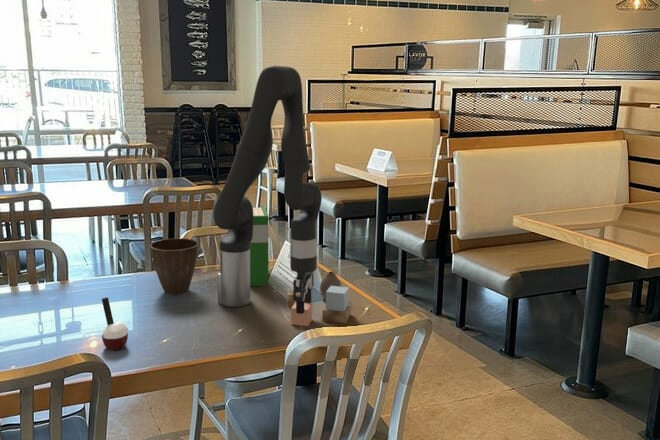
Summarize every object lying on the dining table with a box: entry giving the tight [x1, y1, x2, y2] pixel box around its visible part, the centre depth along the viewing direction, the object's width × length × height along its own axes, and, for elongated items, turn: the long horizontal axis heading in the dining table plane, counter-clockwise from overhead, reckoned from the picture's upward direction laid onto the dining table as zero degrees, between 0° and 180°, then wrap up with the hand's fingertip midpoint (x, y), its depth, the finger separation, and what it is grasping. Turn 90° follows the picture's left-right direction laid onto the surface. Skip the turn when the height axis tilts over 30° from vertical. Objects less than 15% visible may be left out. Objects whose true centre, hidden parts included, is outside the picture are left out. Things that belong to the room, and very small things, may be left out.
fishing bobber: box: [101, 297, 129, 351], centre depth 160 cm, size 10×6×12 cm, turn 22°
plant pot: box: [149, 238, 199, 296], centre depth 201 cm, size 15×15×16 cm
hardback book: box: [250, 204, 269, 287], centre depth 216 cm, size 18×7×24 cm, turn 11°
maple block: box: [286, 289, 300, 308], centre depth 193 cm, size 4×4×4 cm
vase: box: [319, 271, 343, 301], centre depth 198 cm, size 7×7×9 cm
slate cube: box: [325, 286, 350, 312], centre depth 183 cm, size 6×6×6 cm
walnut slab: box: [321, 303, 352, 324], centre depth 184 cm, size 7×7×4 cm
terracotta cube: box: [290, 303, 313, 327], centre depth 180 cm, size 5×5×5 cm
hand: (303, 307), depth 179 cm, fingers open, 8 cm apart
